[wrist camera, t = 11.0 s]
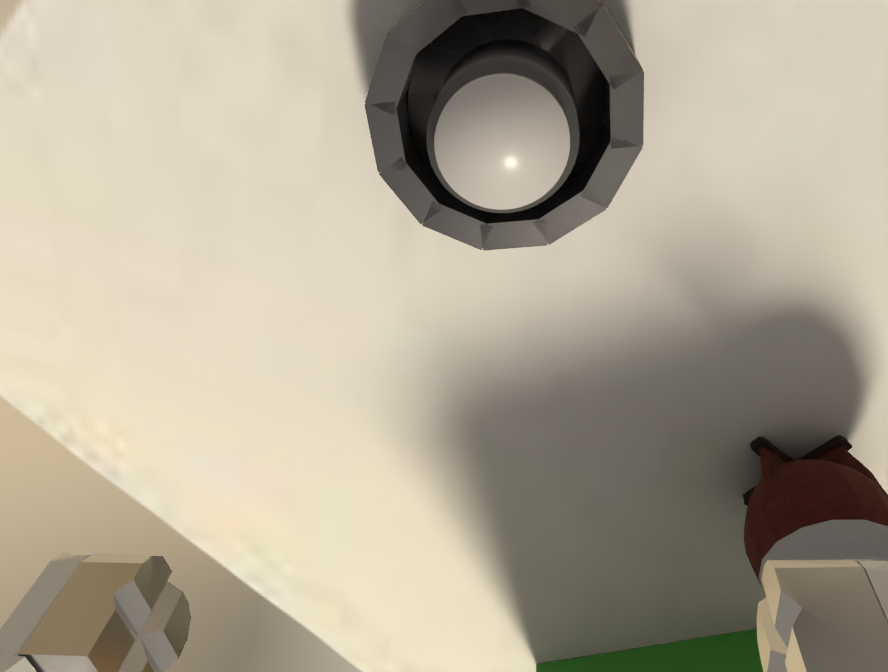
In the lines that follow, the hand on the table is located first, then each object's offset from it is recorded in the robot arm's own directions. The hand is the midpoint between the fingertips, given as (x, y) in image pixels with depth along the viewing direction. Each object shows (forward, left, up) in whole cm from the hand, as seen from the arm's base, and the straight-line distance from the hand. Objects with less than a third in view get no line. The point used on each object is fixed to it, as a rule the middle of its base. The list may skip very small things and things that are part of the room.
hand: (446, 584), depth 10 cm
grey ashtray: (0, 0, -24) cm, 24 cm away
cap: (0, 0, -23) cm, 23 cm away
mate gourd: (-13, +21, -24) cm, 34 cm away
